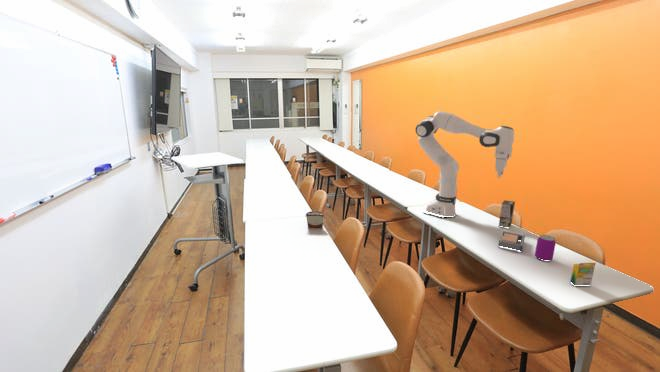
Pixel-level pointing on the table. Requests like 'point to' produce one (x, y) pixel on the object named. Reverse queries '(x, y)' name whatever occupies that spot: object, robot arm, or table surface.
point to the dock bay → (512, 245)
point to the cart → (510, 238)
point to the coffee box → (506, 213)
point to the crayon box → (582, 273)
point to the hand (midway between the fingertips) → (500, 176)
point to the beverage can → (545, 247)
